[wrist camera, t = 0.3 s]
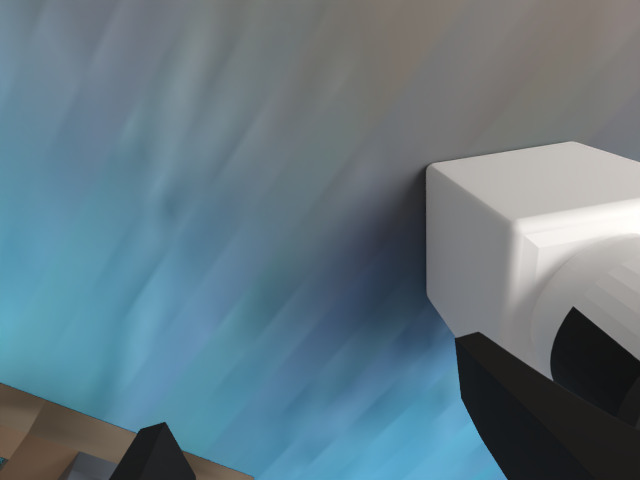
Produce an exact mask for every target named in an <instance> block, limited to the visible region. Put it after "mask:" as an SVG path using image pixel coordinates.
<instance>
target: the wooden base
mask: <svg viewBox="0 0 640 480" xmlns="http://www.w3.org/2000/svg"><path fill="white" fill-rule="evenodd" d="M136 435H137V434H136V433H133V432H130V431H128V430H125V429H122V428H120V427H117V426H114V425H112V424H109V423H106V422H104V421H101V420H98V419H96V418H93V417H90V416H87V415H85V414H82V413H79V412H77V411H74V410H71V409H69V408H66V407H63V406H61V405H58V404H55V403H53V402H50V401H47V400H44V399H42V398H39V397H36V396H34V395H31V394H28V393H26V392H23V391H20V390H18V389H15V388H12V387H10V386H7V385H4V384H1V383H0V457H2V458H5V459H4V460H3V462H2V463H1V464H0V480H109V478H110V477H111V475H112V474H113V472H114V470H115V469H116V467H117V466H118V464H119V462H120V461H121V459H122V457H123V456H124V454H125V453H126V451H127V449H128V448H129V446H130V445H131V443H132V441H133V440H134V438H135V437H136ZM181 451H182V450H181ZM182 452H183V454H184V456H185V458H186V459H187V461H188V463H189V465H190V467H191V468H192V470H193V472H194V474H195V475H196V480H254V477H251V476H249V475H246V474H243V473H241V472H238V471H235V470H233V469H230V468H227V467H225V466H222V465H219V464H217V463H214V462H211V461H208V460H206V459H203V458H200V457H198V456H195V455H192V454H190V453H187V452H184V451H182Z"/></svg>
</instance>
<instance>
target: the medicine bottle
mask: <svg viewBox="0 0 640 480" xmlns="http://www.w3.org/2000/svg"><path fill="white" fill-rule="evenodd" d="M426 281H427V296H428V298H429V300H430V301H431V303H432V304H433V306H434V307H435V308H436V310H437V311H438V313H439V314H440V316H441V317H442V319H443V320H444V321H445V323H446V324H447V326H448V327H449V329H450V330H451V331H452V333H453V334H454V336H455V337H456V338H457V337H461V336H464V335H468V334H471V333H475V332H478V331H479V332H480V333H482V334H484V335H485V336H487V337H488V338H490V339H491V340H492V341H494V342H495V343H497V344H498V345H500V346H501V347H503V348H504V349H505V350H507V351H508V352H510V353H511V354H513V355H514V356H516V357H517V358H519V359H520V360H522V361H523V362H525V363H526V364H527V365H529V366H530V367H532V368H534V369H535V370H537V371H538V372H540V373H541V374H543V375H544V376H546V377H548V378H549V379H551V380H552V381H554V382H555V383H557V384H559V385H560V386H562V387H563V388H565V389H567V390H568V391H570V392H571V393H573V394H575V395H576V396H578V397H580V398H582V399H583V400H585V401H587V402H588V403H590V404H592V405H594V406H595V407H597V408H599V409H601V410H602V411H604V412H606V413H608V414H609V415H611V416H613V417H615V418H617V419H618V420H620V421H622V422H624V423H626V424H628V425H630V426H632V427H633V428H635V429H637V430H639V431H640V162H637V161H633V160H630V159H627V158H624V157H621V156H618V155H615V154H611V153H608V152H605V151H602V150H599V149H596V148H592V147H589V146H586V145H583V144H580V143H577V142H564V143H558V144H551V145H545V146H539V147H532V148H526V149H520V150H514V151H507V152H501V153H495V154H488V155H482V156H476V157H469V158H463V159H457V160H451V161H444V162H438V163H433V164H430V165H429V166H428V167H427V170H426Z"/></svg>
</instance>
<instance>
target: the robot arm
mask: <svg viewBox="0 0 640 480" xmlns="http://www.w3.org/2000/svg"><path fill="white" fill-rule="evenodd" d="M455 346H456V355H457V364H458V373H459V382H460V391H461V399H462V401H463V403H464V405H465V407H466V409H467V411H468V413H469V415H470V417H471V419H472V421H473V423H474V425H475V427H476V429H477V431H478V433H479V435H480V437H481V438H482V440H483V442H484V443H485V445H486V446H487V448H488V450H489V451H490V453H491V454H492V456H493V457H494V459H495V461H496V462H497V464H498V465H499V467H500V468H501V470H502V472H503V473H504V475H505V476H506V478H507V479H508V480H640V431H639V430H637V429H635V428H633V427H632V426H630V425H628V424H626V423H624V422H622V421H620V420H618V419H617V418H615V417H613V416H611V415H609V414H608V413H606V412H604V411H602V410H601V409H599V408H597V407H595V406H594V405H592V404H590V403H588V402H587V401H585V400H583V399H582V398H580V397H578V396H576V395H575V394H573V393H571V392H570V391H568V390H567V389H565V388H563V387H562V386H560V385H559V384H557V383H555V382H554V381H552V380H551V379H549V378H548V377H546V376H544V375H543V374H541V373H540V372H538V371H537V370H535V369H534V368H532V367H530V366H529V365H527V364H526V363H525V362H523V361H522V360H520V359H519V358H517V357H516V356H514V355H513V354H511V353H510V352H508V351H507V350H505V349H504V348H503V347H501V346H500V345H498V344H497V343H495V342H494V341H492V340H491V339H490V338H488V337H487V336H485V335H484V334H482V333H480V332H479V331H478V332H475V333H471V334H468V335H464V336H461V337H457V338H455ZM109 480H196V475H195V474H194V472H193V470H192V468H191V467H190V465H189V463H188V461H187V459H186V458H185V456H184V454H183V452H182V451H181V449H180V447H179V445H178V443H177V442H176V440H175V438H174V436H173V435H172V433H171V431H170V429H169V427H168V426H167V424H166V422H163V423H160V424H156V425H153V426H150V427H146V428H143V429H140V431H139V432H138V434H137V435H136V437H135V438H134V440H133V441H132V443H131V445H130V446H129V448H128V449H127V451H126V453H125V454H124V456H123V457H122V459H121V461H120V462H119V464H118V466H117V467H116V469H115V470H114V472H113V474H112V475H111V477H110V478H109Z"/></svg>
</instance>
